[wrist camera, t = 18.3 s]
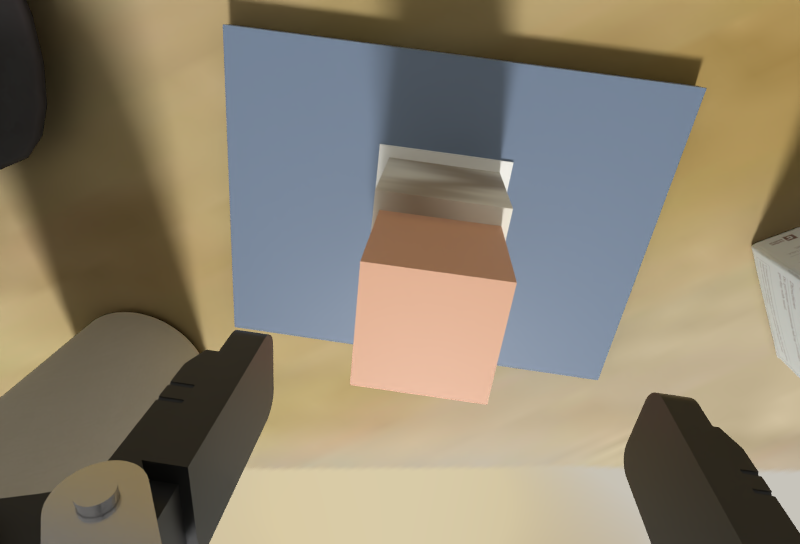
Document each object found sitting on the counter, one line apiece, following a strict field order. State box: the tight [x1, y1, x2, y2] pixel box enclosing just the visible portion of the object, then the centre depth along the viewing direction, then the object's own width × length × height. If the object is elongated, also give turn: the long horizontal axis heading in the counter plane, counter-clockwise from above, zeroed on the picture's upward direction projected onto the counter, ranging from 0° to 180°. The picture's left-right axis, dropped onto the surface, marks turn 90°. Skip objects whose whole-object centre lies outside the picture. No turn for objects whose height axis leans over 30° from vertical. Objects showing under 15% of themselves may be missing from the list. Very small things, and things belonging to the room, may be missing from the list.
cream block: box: [371, 157, 513, 241], centre depth 21 cm, size 5×6×5 cm
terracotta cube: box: [350, 210, 517, 405], centre depth 17 cm, size 4×4×4 cm
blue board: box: [223, 25, 706, 380], centre depth 24 cm, size 20×15×1 cm
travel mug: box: [0, 312, 199, 498], centre depth 22 cm, size 8×8×18 cm
